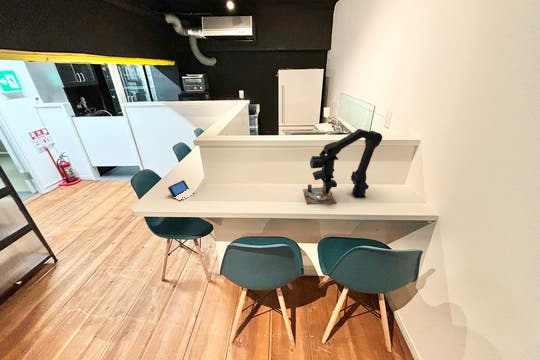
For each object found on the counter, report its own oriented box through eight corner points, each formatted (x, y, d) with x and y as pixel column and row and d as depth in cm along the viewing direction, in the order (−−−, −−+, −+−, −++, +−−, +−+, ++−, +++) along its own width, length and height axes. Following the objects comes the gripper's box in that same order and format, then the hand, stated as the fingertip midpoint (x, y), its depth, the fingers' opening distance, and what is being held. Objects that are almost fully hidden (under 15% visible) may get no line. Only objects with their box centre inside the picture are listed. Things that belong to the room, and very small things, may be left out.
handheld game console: (181, 202, 129) (178, 191, 126) (169, 197, 134) (167, 187, 131) (197, 193, 139) (195, 183, 136) (185, 189, 144) (183, 179, 140)
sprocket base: (328, 190, 139) (329, 188, 138) (336, 203, 123) (336, 202, 123) (302, 190, 139) (303, 189, 138) (307, 204, 123) (307, 202, 123)
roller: (328, 190, 129) (329, 183, 127) (330, 194, 125) (330, 186, 123) (321, 191, 129) (322, 183, 127) (323, 194, 125) (323, 186, 123)
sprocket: (310, 187, 140) (310, 179, 137) (333, 191, 134) (334, 183, 132) (303, 198, 127) (303, 190, 124) (328, 203, 121) (329, 195, 118)
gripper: (311, 161, 129) (309, 184, 135) (317, 173, 112) (315, 199, 119) (329, 161, 129) (327, 184, 135) (338, 173, 112) (335, 198, 118)
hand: (325, 191), depth 127 cm, fingers closed on roller, 4 cm apart
